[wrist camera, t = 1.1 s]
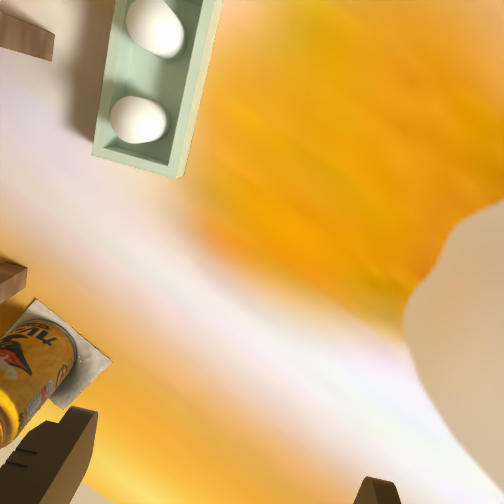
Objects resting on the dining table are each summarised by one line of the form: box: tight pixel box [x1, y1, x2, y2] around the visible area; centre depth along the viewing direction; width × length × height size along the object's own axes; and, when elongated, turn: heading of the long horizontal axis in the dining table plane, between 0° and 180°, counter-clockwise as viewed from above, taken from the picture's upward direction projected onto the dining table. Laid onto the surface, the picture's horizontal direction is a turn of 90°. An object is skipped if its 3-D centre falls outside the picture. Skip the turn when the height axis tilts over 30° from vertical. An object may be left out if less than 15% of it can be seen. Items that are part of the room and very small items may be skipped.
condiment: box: [0, 300, 112, 449], centre depth 31 cm, size 7×8×12 cm
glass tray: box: [92, 0, 223, 179], centre depth 27 cm, size 12×6×5 cm, turn 164°
